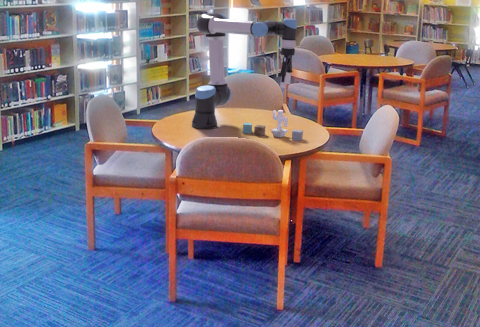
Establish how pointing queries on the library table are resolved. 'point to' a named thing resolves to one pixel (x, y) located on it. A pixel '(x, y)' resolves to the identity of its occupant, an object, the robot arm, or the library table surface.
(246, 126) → the dusty-teal block
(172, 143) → the library table surface
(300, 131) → the slate-grey block
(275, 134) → the figurine
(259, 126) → the walnut block
